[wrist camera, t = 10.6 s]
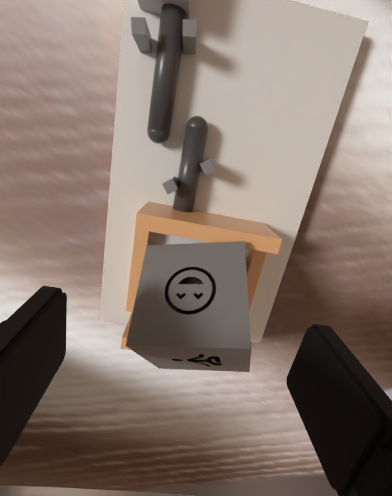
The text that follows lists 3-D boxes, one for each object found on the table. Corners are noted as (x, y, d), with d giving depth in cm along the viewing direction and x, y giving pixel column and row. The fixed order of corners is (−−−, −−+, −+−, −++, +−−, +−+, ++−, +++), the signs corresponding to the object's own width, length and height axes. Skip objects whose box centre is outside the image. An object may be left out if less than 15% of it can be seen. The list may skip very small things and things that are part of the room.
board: (132, -33, 13) (103, -132, 8) (357, 26, 14) (434, -35, 9) (103, 311, 19) (79, 355, 15) (256, 334, 20) (274, 381, 16)
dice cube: (244, 286, 16) (249, 371, 14) (169, 287, 17) (159, 368, 14) (244, 241, 12) (251, 348, 9) (146, 245, 13) (125, 345, 10)
